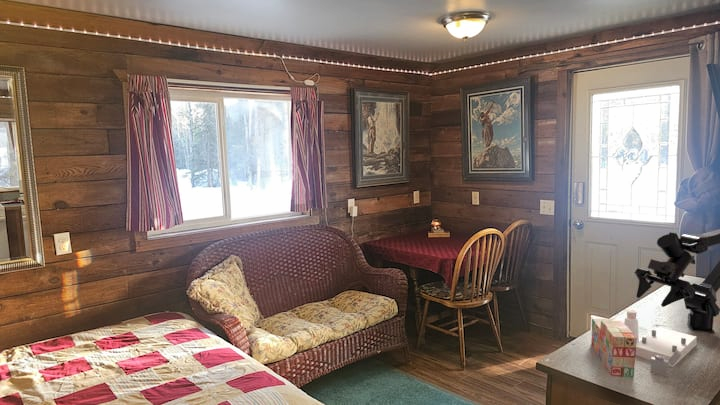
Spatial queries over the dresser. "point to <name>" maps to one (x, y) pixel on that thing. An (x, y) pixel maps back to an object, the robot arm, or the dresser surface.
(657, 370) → the lighter
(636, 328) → the pepper shaker
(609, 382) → the dresser surface
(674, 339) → the cream board with pegs
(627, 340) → the stack of blocks
